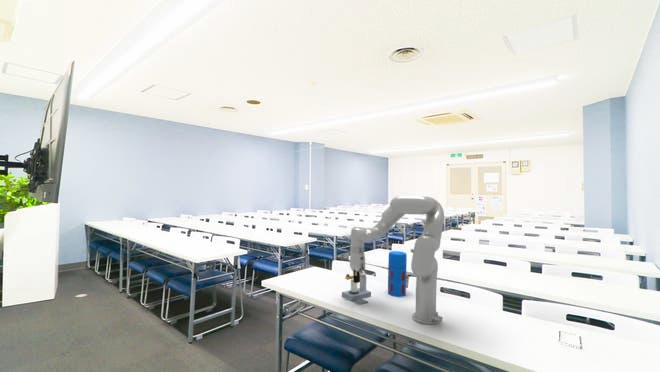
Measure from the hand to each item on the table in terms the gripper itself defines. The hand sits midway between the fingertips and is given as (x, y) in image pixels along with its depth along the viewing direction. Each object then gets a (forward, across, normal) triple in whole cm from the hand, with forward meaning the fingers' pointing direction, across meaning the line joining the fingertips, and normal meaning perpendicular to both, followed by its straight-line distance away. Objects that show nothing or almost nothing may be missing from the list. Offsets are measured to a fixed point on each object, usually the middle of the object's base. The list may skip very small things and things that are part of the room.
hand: (356, 282), depth 164 cm
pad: (+11, -2, -2) cm, 11 cm away
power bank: (+11, -73, -63) cm, 97 cm away
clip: (-1, +7, -4) cm, 8 cm away
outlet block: (+11, +7, -4) cm, 13 cm away
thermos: (+11, +1, -30) cm, 32 cm away
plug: (+11, +6, -2) cm, 13 cm away
